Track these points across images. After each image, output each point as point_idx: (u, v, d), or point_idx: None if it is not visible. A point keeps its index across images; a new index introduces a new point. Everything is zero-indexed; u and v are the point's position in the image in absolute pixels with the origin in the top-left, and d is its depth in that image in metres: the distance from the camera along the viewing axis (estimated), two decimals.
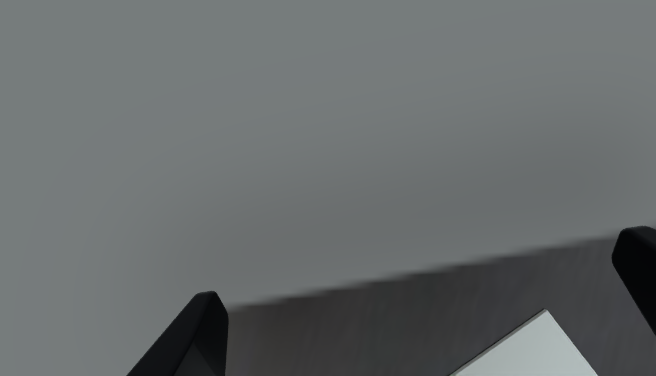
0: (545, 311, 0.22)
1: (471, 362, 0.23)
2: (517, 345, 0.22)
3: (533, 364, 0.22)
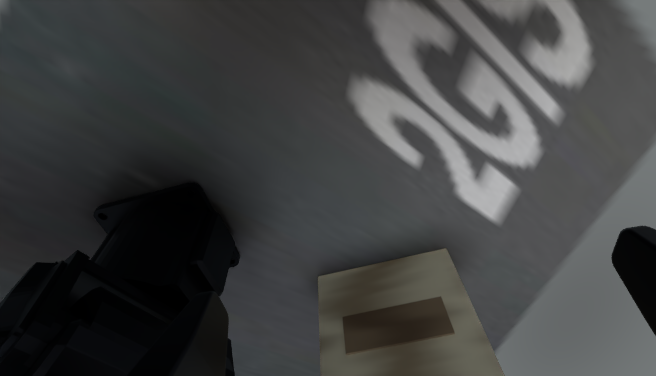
0: None
1: None
2: None
3: None
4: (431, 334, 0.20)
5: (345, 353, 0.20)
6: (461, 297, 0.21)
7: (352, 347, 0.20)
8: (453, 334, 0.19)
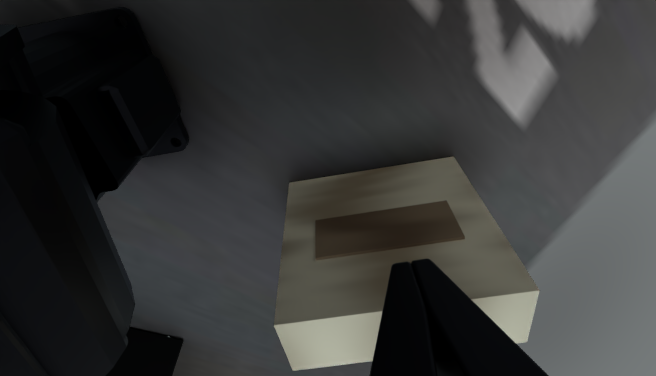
0: None
1: None
2: None
3: None
4: (433, 237, 0.14)
5: (315, 258, 0.15)
6: (473, 202, 0.16)
7: (325, 251, 0.15)
8: (462, 238, 0.14)
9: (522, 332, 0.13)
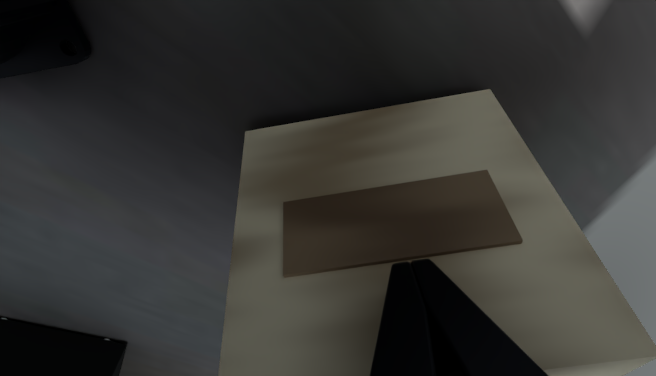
0: None
1: None
2: None
3: None
4: (471, 241, 0.09)
5: (282, 274, 0.09)
6: (529, 172, 0.10)
7: (298, 262, 0.09)
8: (518, 243, 0.09)
9: None
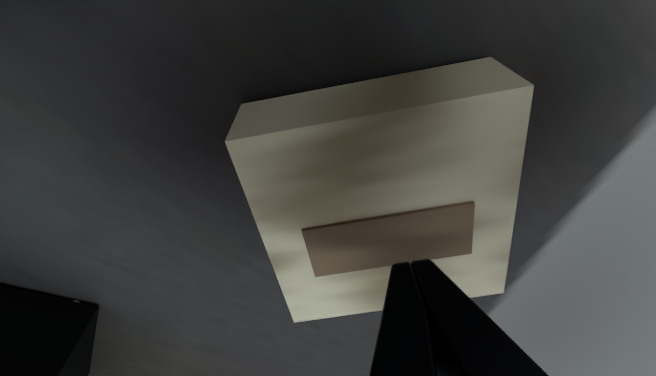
0: None
1: None
2: None
3: None
4: (439, 255, 0.14)
5: (313, 273, 0.14)
6: (506, 200, 0.12)
7: (324, 270, 0.14)
8: (468, 251, 0.14)
9: None
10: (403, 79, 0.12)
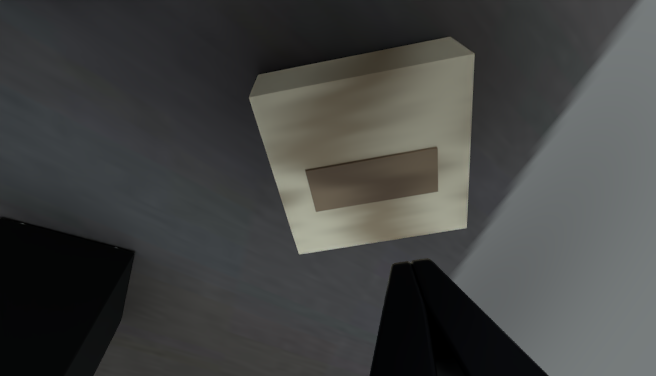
0: None
1: None
2: None
3: None
4: (413, 192, 0.17)
5: (314, 209, 0.18)
6: (461, 146, 0.16)
7: (323, 206, 0.18)
8: (435, 190, 0.17)
9: None
10: (383, 53, 0.16)
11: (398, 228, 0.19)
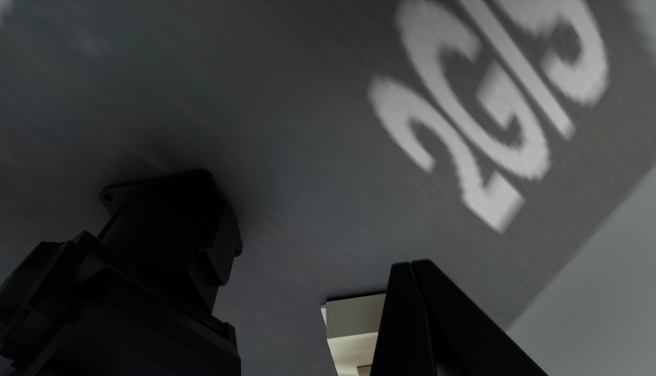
0: None
1: None
2: None
3: None
4: None
5: None
6: None
7: None
8: None
9: None
10: None
11: None
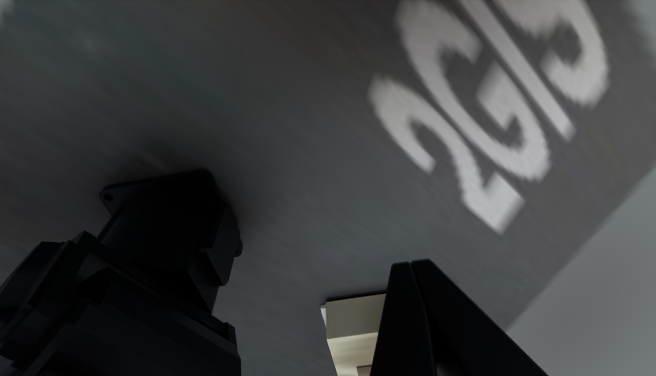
0: None
1: None
2: None
3: None
4: None
5: None
6: None
7: None
8: None
9: None
10: None
11: None
